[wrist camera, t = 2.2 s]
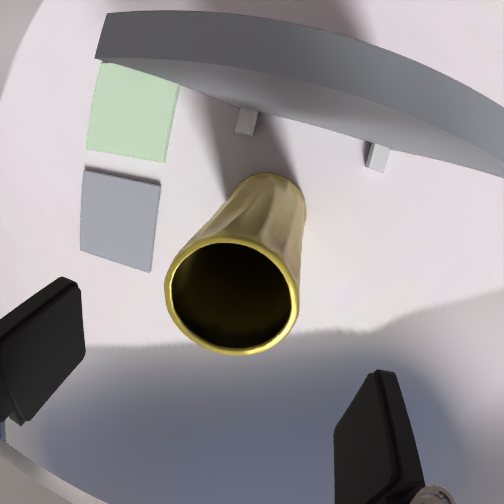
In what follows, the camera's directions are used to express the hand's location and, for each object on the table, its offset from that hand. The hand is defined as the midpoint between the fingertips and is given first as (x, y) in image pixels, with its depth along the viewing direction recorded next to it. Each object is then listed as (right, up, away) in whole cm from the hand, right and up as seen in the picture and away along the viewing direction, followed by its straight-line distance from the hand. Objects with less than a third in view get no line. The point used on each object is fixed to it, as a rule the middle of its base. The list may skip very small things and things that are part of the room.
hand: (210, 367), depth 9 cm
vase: (+2, +7, +16) cm, 18 cm away
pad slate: (-11, +6, +18) cm, 22 cm away
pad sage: (-9, +15, +14) cm, 23 cm away
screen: (+6, +13, +13) cm, 19 cm away
